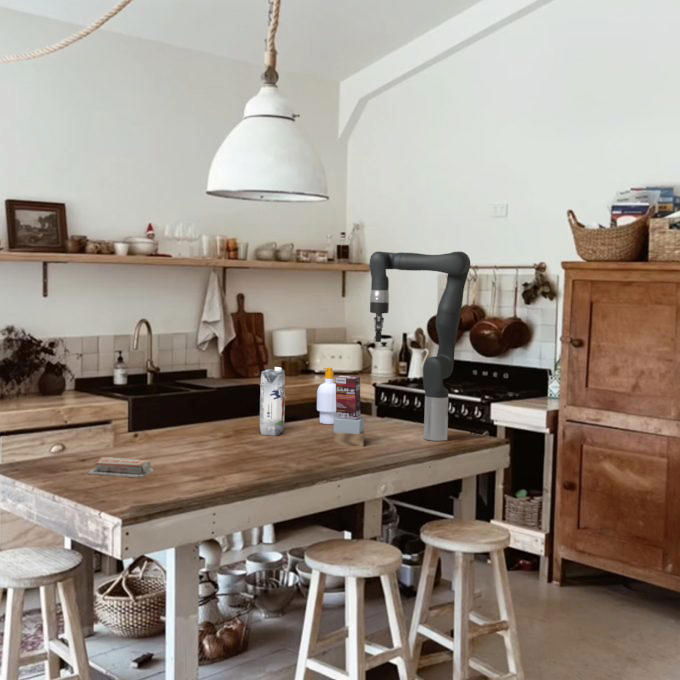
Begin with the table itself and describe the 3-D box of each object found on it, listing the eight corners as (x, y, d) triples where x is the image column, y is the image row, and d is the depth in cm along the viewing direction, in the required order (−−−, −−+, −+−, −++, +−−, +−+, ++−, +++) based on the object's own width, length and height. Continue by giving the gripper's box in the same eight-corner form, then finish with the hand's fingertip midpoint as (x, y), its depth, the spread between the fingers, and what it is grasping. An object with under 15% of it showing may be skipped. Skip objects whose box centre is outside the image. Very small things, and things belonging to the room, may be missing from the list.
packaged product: (154, 457, 282) (141, 464, 272) (153, 472, 283) (141, 479, 273) (101, 454, 286) (87, 460, 276) (101, 469, 286) (87, 475, 276)
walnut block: (363, 441, 343) (364, 429, 343) (363, 447, 332) (363, 434, 332) (335, 440, 344) (336, 428, 344) (334, 446, 333) (334, 433, 333)
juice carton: (258, 435, 349) (259, 368, 347) (263, 430, 360) (265, 365, 358) (280, 436, 348) (281, 368, 346) (285, 431, 359) (286, 366, 356)
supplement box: (335, 418, 337) (334, 377, 335) (340, 415, 341) (339, 375, 339) (356, 419, 333) (355, 378, 331) (361, 417, 338) (360, 376, 336)
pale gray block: (364, 429, 342) (364, 417, 341) (359, 434, 332) (359, 421, 332) (339, 428, 344) (339, 415, 343) (333, 432, 334) (333, 419, 334)
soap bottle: (311, 422, 383) (312, 367, 381) (330, 420, 389) (331, 366, 388) (326, 426, 375) (327, 369, 373) (344, 424, 381) (346, 368, 380)
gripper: (388, 302, 348) (387, 342, 349) (388, 301, 362) (387, 340, 363) (369, 301, 348) (368, 342, 349) (370, 300, 362) (369, 339, 363)
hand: (378, 341), depth 356 cm, fingers open, 8 cm apart
